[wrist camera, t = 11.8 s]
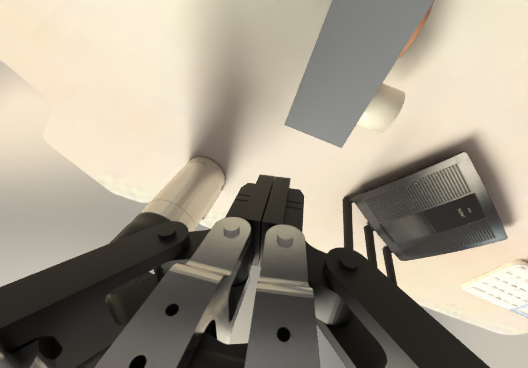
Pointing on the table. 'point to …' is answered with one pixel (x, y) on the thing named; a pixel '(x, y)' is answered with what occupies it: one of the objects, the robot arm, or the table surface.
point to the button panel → (351, 64)
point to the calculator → (503, 287)
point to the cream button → (382, 109)
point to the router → (427, 213)
